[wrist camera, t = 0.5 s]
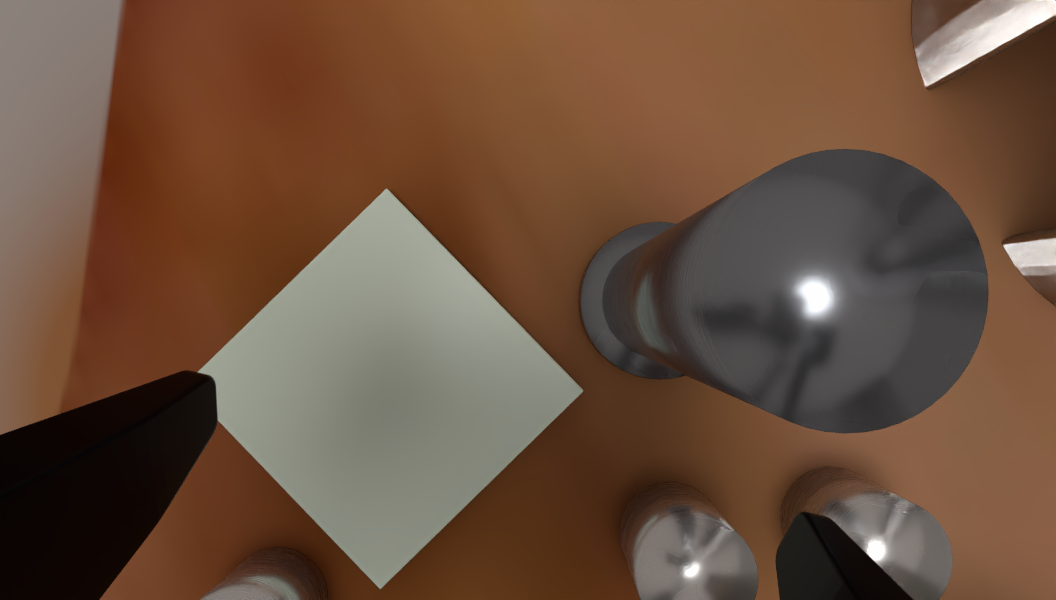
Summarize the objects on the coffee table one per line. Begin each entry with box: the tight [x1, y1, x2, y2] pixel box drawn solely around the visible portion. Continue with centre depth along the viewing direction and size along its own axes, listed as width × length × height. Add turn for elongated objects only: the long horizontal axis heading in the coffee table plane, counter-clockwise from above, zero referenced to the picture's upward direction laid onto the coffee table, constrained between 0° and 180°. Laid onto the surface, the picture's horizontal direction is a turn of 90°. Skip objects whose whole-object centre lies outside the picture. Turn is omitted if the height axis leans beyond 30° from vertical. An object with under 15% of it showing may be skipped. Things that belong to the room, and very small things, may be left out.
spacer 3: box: [780, 467, 952, 600], centre depth 22 cm, size 4×4×4 cm
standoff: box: [579, 149, 988, 433], centre depth 16 cm, size 6×6×14 cm
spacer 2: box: [619, 482, 758, 600], centre depth 22 cm, size 4×4×4 cm
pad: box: [198, 188, 583, 589], centre depth 23 cm, size 11×11×1 cm
